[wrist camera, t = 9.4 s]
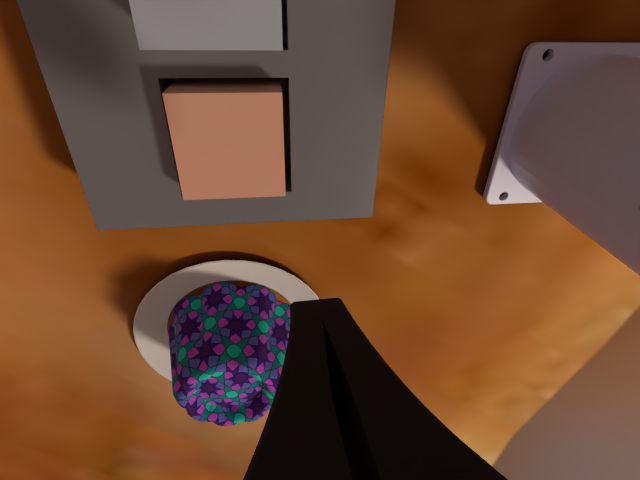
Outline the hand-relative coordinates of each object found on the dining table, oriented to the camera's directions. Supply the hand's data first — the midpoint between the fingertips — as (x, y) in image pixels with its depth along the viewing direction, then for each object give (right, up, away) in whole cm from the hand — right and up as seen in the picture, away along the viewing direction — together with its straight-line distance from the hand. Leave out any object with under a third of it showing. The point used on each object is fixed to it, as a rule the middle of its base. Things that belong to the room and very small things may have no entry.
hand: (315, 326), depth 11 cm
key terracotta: (-4, +7, +6) cm, 10 cm away
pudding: (-5, -3, +14) cm, 16 cm away
